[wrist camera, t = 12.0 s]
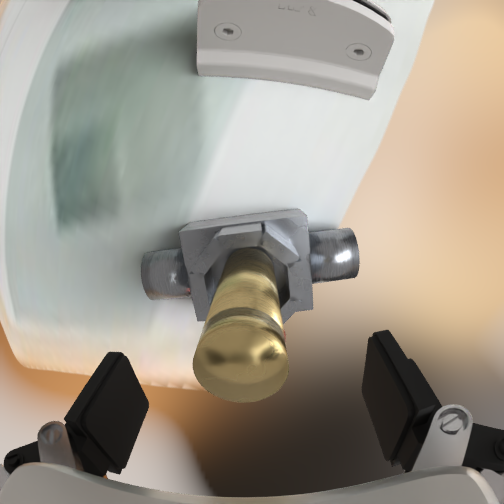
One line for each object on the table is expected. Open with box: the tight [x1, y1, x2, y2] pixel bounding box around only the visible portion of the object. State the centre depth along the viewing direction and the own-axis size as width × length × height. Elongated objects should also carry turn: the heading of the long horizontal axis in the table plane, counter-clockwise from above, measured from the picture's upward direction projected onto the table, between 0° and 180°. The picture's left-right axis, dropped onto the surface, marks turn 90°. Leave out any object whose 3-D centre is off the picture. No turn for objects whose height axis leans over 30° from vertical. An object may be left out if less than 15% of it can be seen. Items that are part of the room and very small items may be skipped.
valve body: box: [141, 209, 359, 343], centre depth 24 cm, size 18×12×7 cm, turn 97°
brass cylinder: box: [193, 248, 289, 402], centre depth 17 cm, size 4×4×12 cm
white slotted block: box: [197, 0, 394, 100], centre depth 17 cm, size 17×5×10 cm, turn 84°
